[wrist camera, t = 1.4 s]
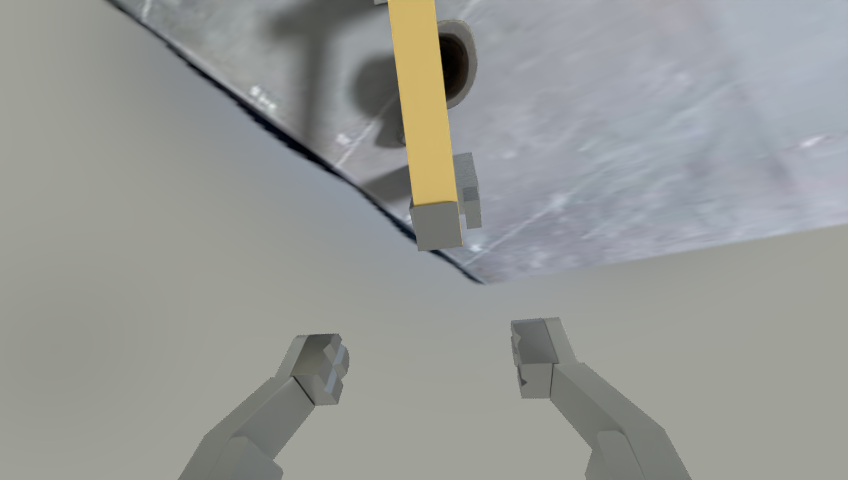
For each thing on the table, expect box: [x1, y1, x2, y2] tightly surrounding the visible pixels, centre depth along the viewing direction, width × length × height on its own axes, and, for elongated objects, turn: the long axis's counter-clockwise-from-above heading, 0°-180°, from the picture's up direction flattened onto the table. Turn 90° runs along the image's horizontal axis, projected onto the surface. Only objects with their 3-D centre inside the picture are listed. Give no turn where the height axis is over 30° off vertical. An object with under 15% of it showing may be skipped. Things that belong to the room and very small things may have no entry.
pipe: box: [395, 20, 477, 145], centre depth 31 cm, size 6×13×8 cm, turn 156°
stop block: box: [409, 153, 482, 235], centre depth 34 cm, size 3×7×13 cm, turn 100°
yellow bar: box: [388, 0, 463, 251], centre depth 20 cm, size 21×3×2 cm
